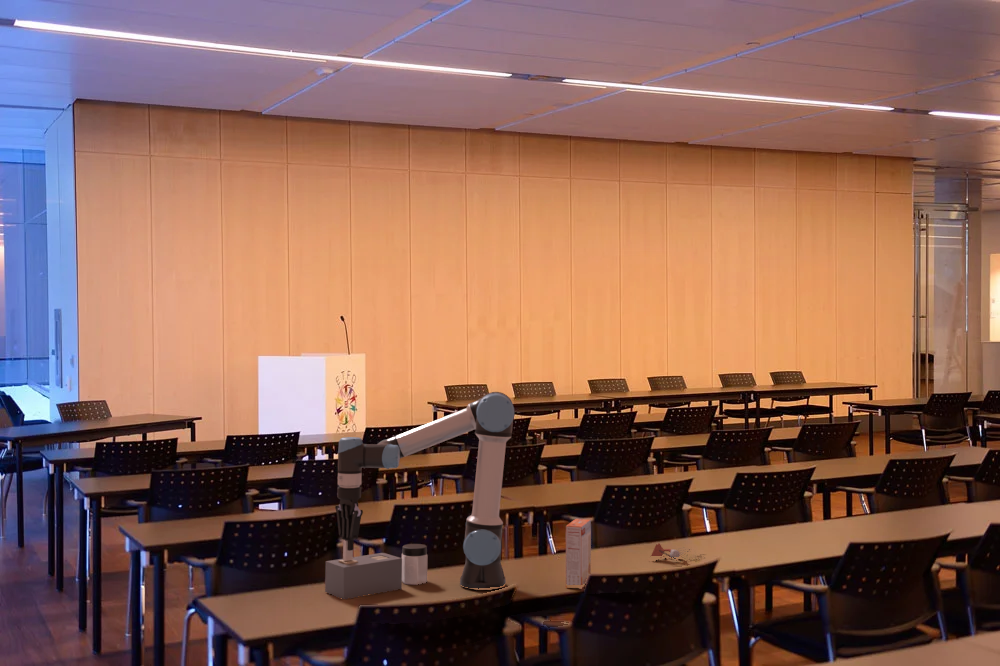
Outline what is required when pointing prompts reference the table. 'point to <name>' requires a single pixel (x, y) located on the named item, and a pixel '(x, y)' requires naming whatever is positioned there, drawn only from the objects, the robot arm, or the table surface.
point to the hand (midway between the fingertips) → (347, 559)
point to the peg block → (363, 576)
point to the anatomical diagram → (660, 551)
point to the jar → (414, 564)
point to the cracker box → (578, 551)
